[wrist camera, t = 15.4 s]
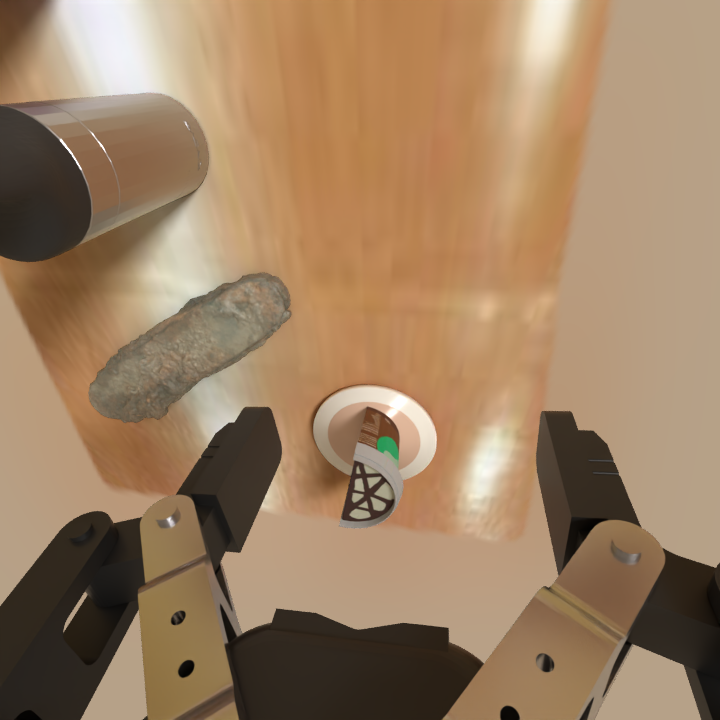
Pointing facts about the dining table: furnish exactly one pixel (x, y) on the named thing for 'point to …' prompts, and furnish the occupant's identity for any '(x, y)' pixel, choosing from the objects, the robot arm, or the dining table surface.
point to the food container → (374, 473)
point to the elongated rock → (190, 347)
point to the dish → (345, 417)
